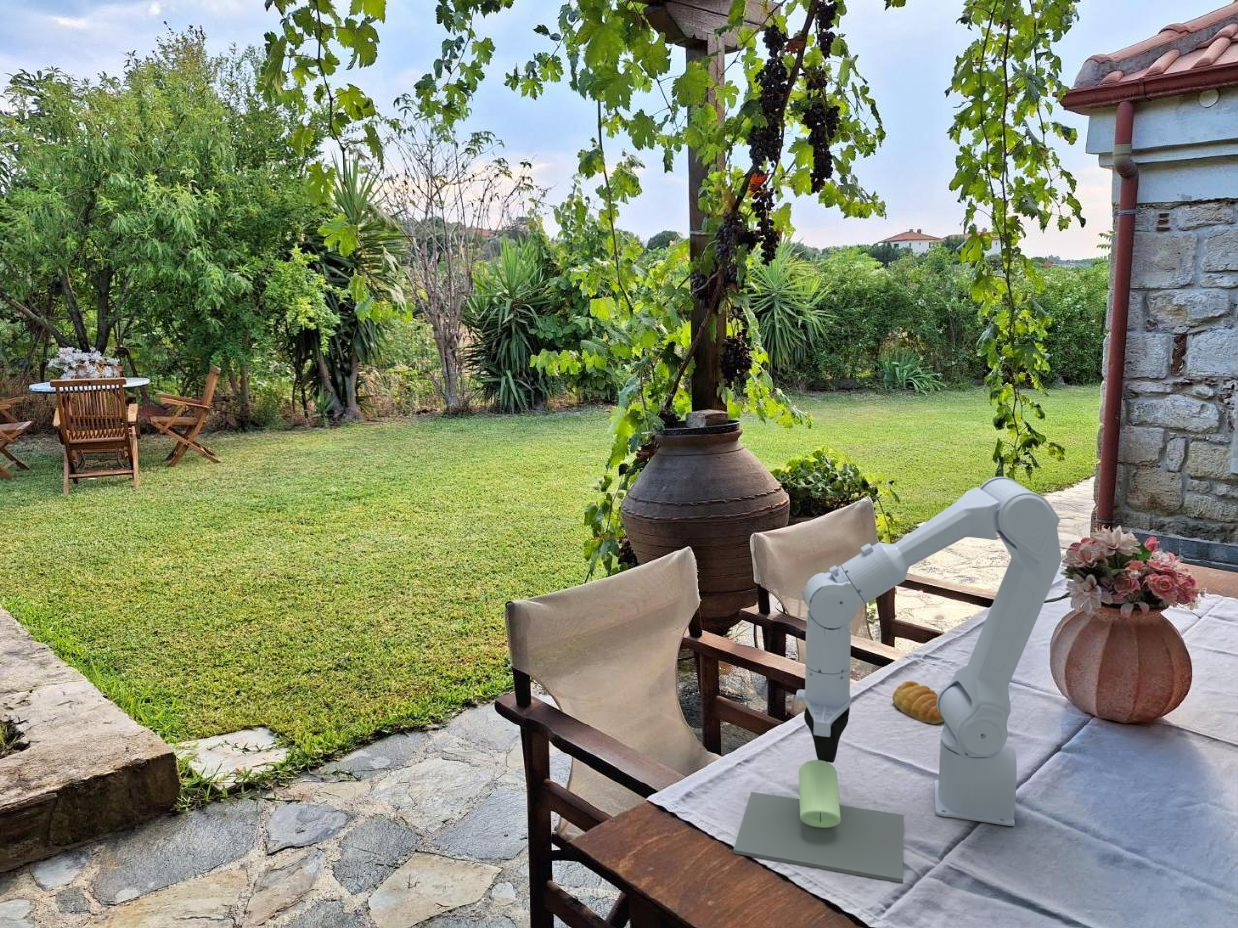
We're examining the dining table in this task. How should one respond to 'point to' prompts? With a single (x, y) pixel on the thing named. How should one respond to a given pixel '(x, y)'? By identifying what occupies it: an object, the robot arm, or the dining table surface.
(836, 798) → the candle
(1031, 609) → the robot arm
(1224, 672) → the dining table surface
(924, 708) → the pastry
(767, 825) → the mat
